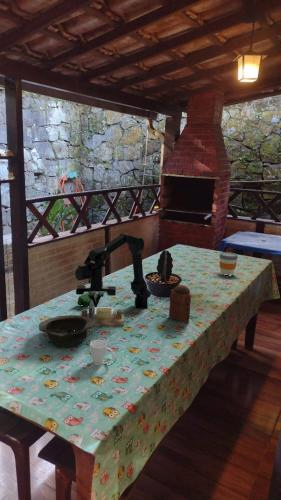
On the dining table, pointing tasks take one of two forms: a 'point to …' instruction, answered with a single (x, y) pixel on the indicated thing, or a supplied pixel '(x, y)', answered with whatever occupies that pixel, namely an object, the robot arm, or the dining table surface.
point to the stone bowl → (67, 329)
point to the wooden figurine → (180, 303)
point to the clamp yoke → (91, 309)
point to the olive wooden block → (103, 313)
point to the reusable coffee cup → (227, 262)
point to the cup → (99, 351)
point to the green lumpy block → (85, 299)
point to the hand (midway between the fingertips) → (96, 307)
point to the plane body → (114, 320)
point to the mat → (104, 307)
